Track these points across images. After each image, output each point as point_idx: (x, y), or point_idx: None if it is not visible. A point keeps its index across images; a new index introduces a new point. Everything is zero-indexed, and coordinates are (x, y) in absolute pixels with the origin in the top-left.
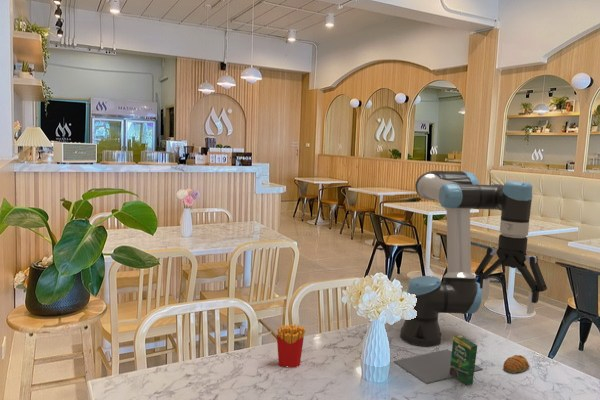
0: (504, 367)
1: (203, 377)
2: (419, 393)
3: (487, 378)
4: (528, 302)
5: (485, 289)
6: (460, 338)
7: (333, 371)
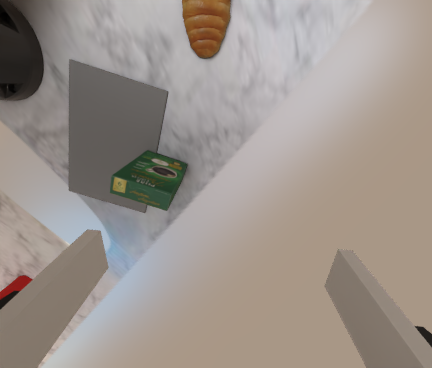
0: (195, 52)
1: None
2: (156, 236)
3: (191, 119)
4: (362, 353)
5: (62, 319)
6: (127, 193)
7: None
